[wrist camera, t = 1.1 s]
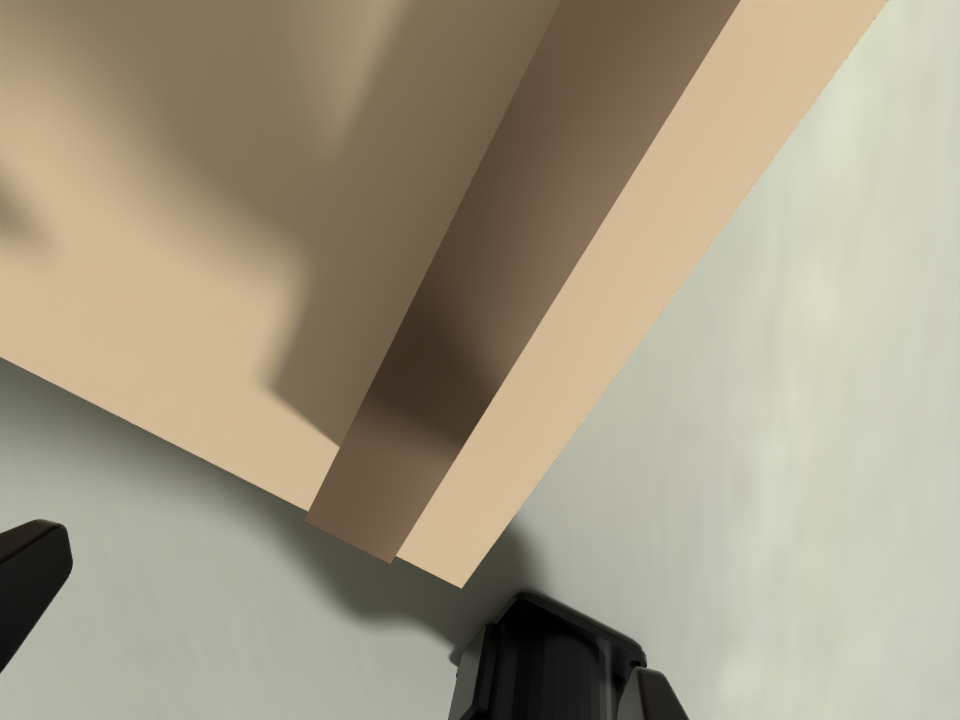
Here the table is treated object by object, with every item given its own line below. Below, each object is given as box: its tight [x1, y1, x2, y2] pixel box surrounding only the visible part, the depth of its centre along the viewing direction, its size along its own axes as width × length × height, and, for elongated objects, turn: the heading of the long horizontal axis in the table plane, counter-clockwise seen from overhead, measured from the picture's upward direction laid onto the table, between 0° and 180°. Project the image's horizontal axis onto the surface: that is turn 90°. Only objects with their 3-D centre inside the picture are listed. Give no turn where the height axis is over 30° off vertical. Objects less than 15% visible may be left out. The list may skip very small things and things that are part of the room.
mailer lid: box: [0, 0, 888, 588], centre depth 11 cm, size 21×17×3 cm
